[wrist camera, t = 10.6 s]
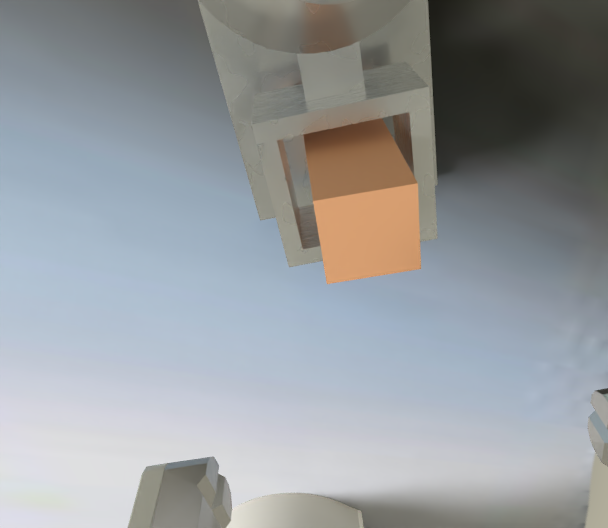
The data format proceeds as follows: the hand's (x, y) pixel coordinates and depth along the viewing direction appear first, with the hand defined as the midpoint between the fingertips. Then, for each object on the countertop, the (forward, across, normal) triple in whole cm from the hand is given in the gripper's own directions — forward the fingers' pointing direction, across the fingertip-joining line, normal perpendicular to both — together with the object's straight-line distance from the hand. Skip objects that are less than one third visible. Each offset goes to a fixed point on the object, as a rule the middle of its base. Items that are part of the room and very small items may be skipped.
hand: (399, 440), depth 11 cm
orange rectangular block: (+18, 0, 0) cm, 18 cm away
